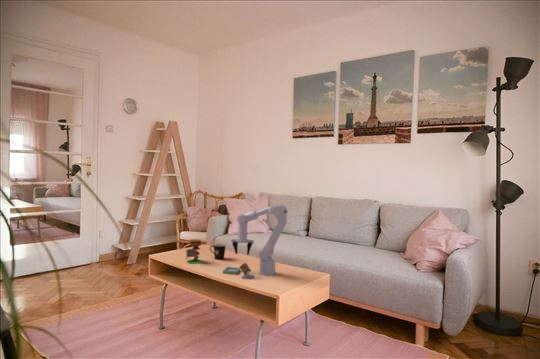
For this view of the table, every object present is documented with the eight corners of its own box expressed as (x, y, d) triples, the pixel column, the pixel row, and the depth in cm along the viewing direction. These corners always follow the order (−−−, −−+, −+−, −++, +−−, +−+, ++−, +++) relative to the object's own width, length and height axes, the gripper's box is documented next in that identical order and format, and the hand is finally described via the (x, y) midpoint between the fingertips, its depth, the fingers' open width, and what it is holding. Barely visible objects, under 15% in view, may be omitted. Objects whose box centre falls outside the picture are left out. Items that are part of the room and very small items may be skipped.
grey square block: (253, 276, 216) (254, 269, 216) (251, 279, 211) (251, 272, 210) (244, 275, 217) (244, 268, 217) (241, 278, 212) (241, 271, 212)
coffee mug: (227, 259, 257) (228, 245, 257) (217, 261, 251) (217, 246, 251) (218, 256, 266) (219, 242, 265) (208, 257, 260) (209, 244, 260)
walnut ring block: (251, 270, 216) (246, 264, 219) (249, 269, 213) (245, 262, 215) (245, 275, 216) (241, 268, 218) (243, 273, 212) (239, 266, 214)
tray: (240, 270, 228) (240, 267, 228) (236, 274, 220) (236, 271, 220) (227, 269, 230) (227, 266, 230) (222, 273, 221) (222, 270, 221)
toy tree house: (205, 260, 253) (206, 238, 253) (200, 264, 240) (201, 242, 240) (189, 259, 254) (190, 238, 254) (183, 263, 242) (184, 241, 241)
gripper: (255, 232, 232) (254, 253, 232) (233, 231, 234) (232, 252, 235) (252, 234, 225) (252, 255, 225) (230, 233, 227) (229, 254, 228)
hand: (242, 254), depth 229 cm, fingers open, 7 cm apart
